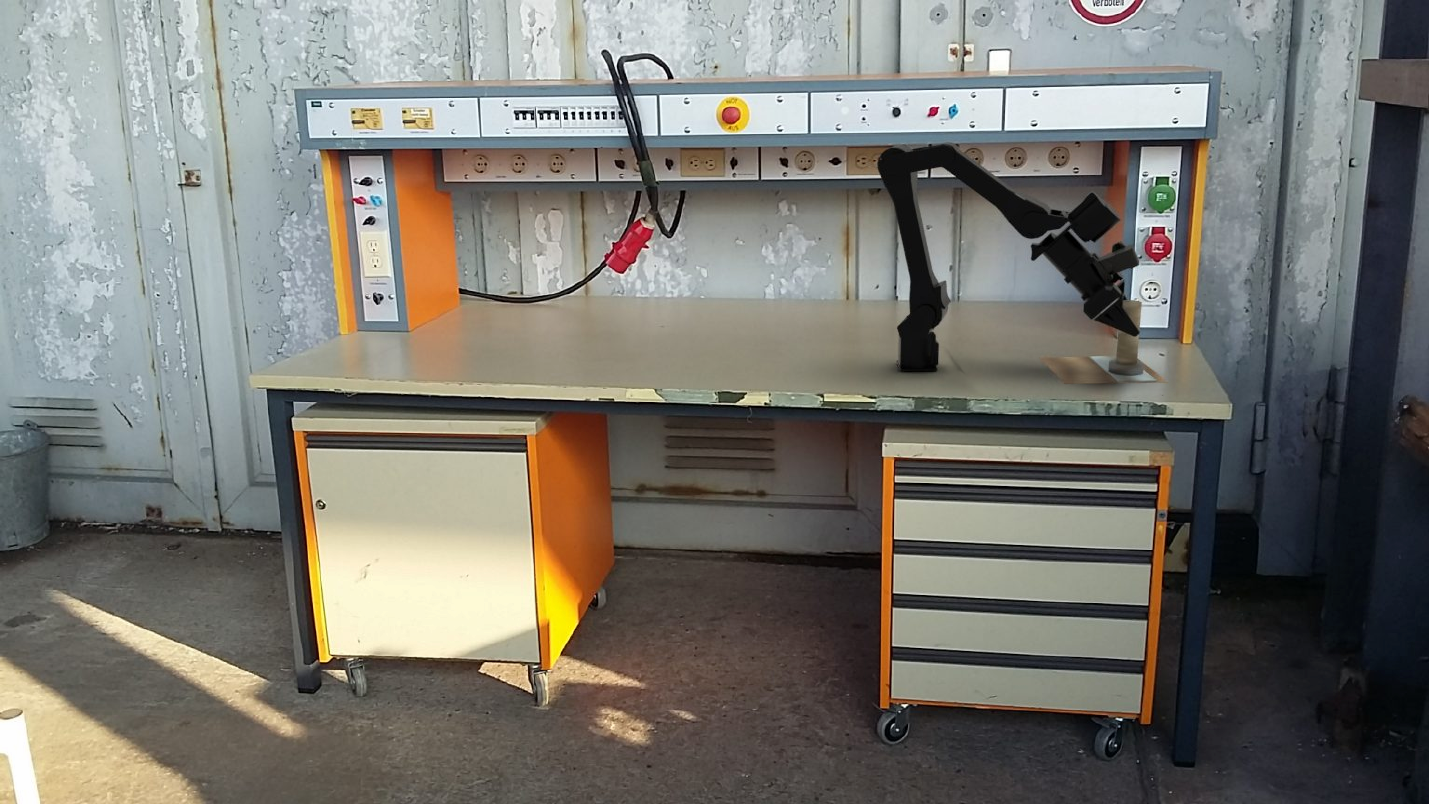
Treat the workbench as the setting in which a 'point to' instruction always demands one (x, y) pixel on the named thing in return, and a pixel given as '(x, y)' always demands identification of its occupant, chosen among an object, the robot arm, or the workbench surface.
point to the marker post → (1128, 345)
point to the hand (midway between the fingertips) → (1137, 329)
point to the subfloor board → (1095, 371)
